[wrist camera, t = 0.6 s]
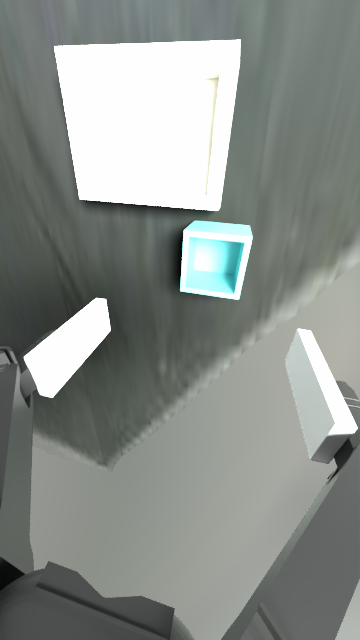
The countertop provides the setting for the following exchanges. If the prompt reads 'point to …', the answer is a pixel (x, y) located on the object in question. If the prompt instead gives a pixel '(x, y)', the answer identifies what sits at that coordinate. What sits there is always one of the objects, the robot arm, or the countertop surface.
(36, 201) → the countertop surface
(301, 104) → the countertop surface
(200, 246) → the small crate
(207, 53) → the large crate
